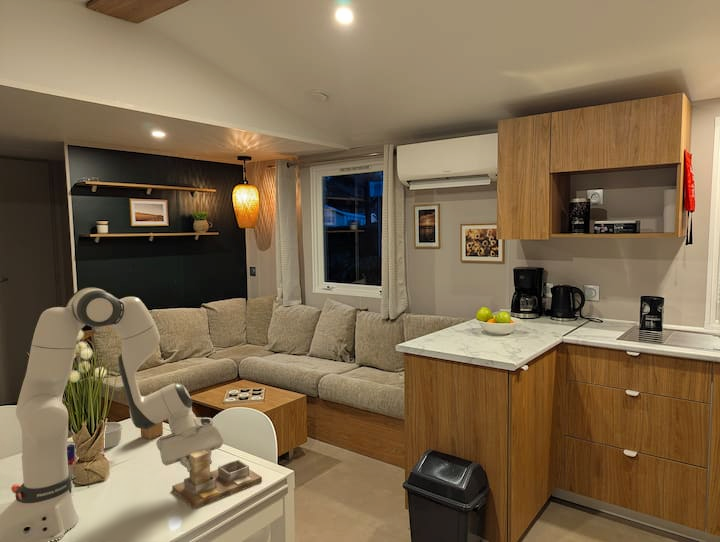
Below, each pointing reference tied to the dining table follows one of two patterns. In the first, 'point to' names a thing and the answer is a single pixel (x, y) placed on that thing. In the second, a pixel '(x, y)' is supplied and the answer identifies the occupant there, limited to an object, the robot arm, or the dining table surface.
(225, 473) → the socket board
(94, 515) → the dining table surface
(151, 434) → the decorative item
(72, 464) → the energy drink
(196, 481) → the wooden plug
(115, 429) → the ramekin
